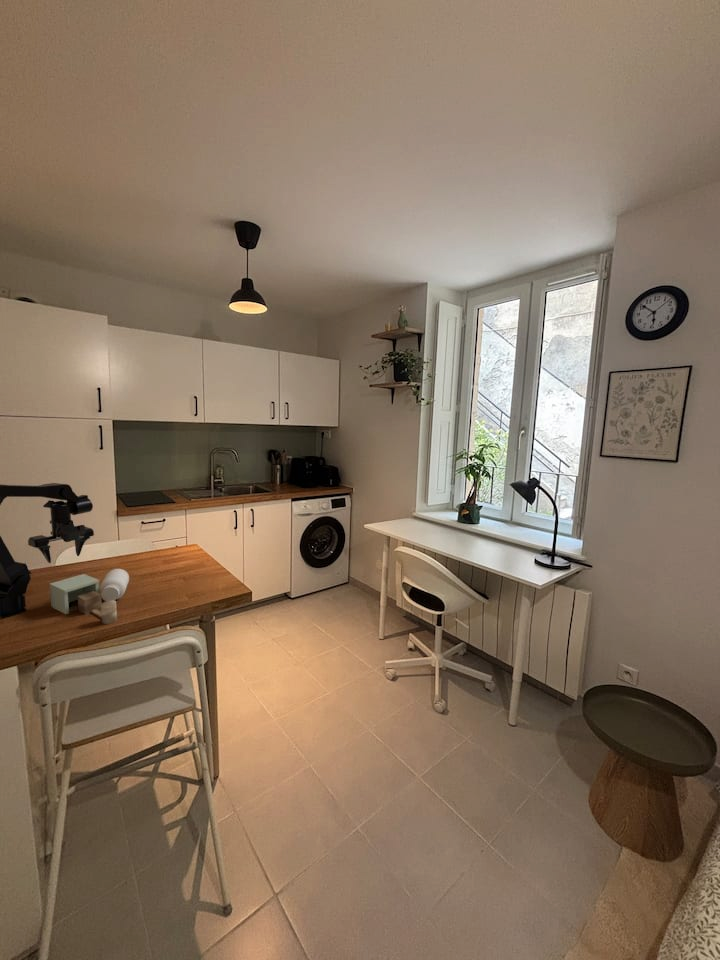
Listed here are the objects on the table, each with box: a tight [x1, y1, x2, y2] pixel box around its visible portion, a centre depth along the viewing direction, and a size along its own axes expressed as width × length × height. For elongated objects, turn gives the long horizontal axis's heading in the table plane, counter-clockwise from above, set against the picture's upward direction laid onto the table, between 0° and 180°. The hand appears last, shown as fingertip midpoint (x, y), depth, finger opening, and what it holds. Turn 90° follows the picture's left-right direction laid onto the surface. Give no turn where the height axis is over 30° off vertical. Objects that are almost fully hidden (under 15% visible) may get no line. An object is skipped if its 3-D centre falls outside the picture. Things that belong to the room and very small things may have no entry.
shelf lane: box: [49, 573, 100, 615], centre depth 135 cm, size 10×10×8 cm
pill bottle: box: [99, 568, 130, 602], centre depth 143 cm, size 8×8×15 cm
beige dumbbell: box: [77, 591, 118, 625], centre depth 129 cm, size 5×18×6 cm, turn 57°
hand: (64, 559), depth 145 cm, fingers open, 9 cm apart
